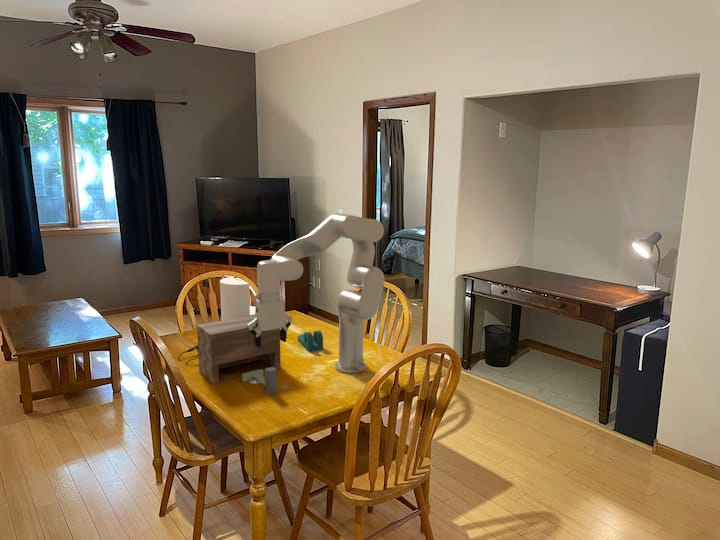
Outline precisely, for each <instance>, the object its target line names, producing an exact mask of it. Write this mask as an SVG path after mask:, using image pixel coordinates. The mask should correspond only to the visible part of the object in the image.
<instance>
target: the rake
mask: <svg viewBox="0 0 720 540" xmlns="http://www.w3.org/2000/svg"><path fill="white" fill-rule="evenodd" d="M277 374H278V373H277V368H276V369H275V368H274V367H272V366H271V367H266V368H264V369H262V368H261V369H256V370H252V371H249V372H244V373H241V379H242V382H248V381H249V379H250V378H252V377H254V378H256V379H257V380H258V381H260V382H261V384H263V385H264V387H265V388H264V389H265V393H266V394H267V395H269V396H271V395H275V394H277V393H278V383H277V382H278V380H277V377H278V376H277Z"/></svg>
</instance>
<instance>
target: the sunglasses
mask: <svg viewBox="0 0 720 540" xmlns="http://www.w3.org/2000/svg"><path fill="white" fill-rule="evenodd" d="M195 350H196V352H197V353H198V344H197V345H195V346H193V347H191V348H189V349H187V350H185V351H183V352H181V353H180V354H179V355H178V358H177V360H179V361H180V358H181V356H182V355H183V354H185V353H190V352H193V351H195ZM196 359H199V356H197V357H195V358H192V359H189V360H187V361H186V363H185V364H187V365H188V363H189V362H190V361H193V360H196Z"/></svg>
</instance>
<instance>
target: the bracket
mask: <svg viewBox="0 0 720 540" xmlns="http://www.w3.org/2000/svg"><path fill="white" fill-rule="evenodd" d="M297 341H299V342H298V343H299V344H300V343H301V344H300V345H301V346H302V347H303V348H304V349H305V350H306V351H307V352H308V353H310V352H317V351H318V350H319V351H324V335H323V333H322V331H321V330H314V331H313V334H312V332H311V331H306V332H305V331H304V333H301V334H298V335H297Z"/></svg>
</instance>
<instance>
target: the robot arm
mask: <svg viewBox="0 0 720 540" xmlns="http://www.w3.org/2000/svg"><path fill="white" fill-rule="evenodd" d="M384 231H385V228H384V225H383V223H382V222H381V221H379V220H378V219H373V218H366V217H361V216H356V215H351V214H346V213H339V212H338V213H333V214H330V215H329V216H328V217H327V218H326V219H324V220H323V221H322V222H321V223H320V224H319V225H318V226H317V227H315V228H314V229H312V231H310V233H308V234H307V235H305V236H302V237H300V238H298V239H296V240H293V241H291V242H289V243H287V244H286V245H284V246H283V247H281V248H280V249H279V250H278V251H277V252H276V253H274V254H273V255H272V257H271V258H270V259H267V260H261V261H259V262H258V263H257V265H256V267H257V268H256V272H257V273H256V274H257V294H256V295H254V299H255V300H257V301H256V303H255V307H256V309H255V319H254V320H252V321H251V322H250V323H248V324H247V325H246V327H247V328H248V330H249V332H250V333H252V334H253V335H254V344H255V345H256V346H257V347H258V348H261V337H260V336H259V335H260V334H261V332H262V331H269V330H274V329H278V328H280V342H283V343H286V342H287V338H288V337H287V331H288V329H289V328H290V327H291V325H292V321H293V318H294V317H293V316H292V315H289V314H286V307H285V303H284V299H283V298H281V281H296V280H298V279H300V278H301V277H302V275H303V273H304V266H303V264H302V262H300V261H299V260H301V259H303V258H307V257H312V256H317V255H321V254H323V253H325V252H326V251H327V250H328V249H329V248H330V247H331V246H333V245H334V244H335V243H336V242H337V241H338V240H339V239H341V238H344V239H348V240H349V239H350V240H351V242H352V248H353V249H352V256H351V258H350V259H351V260H350V263H349V267H348V270H347V276H346V281H347V283H348V285H350V286H351V287H355V288H356V289H360V290H361V292H360V291H357V290H354V289H345V290H343V291H341V292H340V293H339V294H338V296H337V300H336V308H337V314H338V325H339V326H338V328H339V329H338V361H336V362H335V364H334V368H335V370H336V371H339V372H340V373H346V374H356V373H361V372H363V371H365V370H366V369H368V365H367V363H366V362H365V358H364V322H363V320H364V321H368V320H372V319H373V318H374V316H375V315H376V314H377V312H378V309H379V306H380V302H381V299H382V298H381V297H382V295H383V290H384V287H385V274H384V272H383V271H382V270H381V268H379V267H377V266H373V264H374V259H375V254H376V249H375V244H374V243H376V242H379V241H380V240H381V239H382V238H383V236H384V233H385V232H384ZM254 325H255V327H256V328H255V330H253V328H252V327H253V326H254Z"/></svg>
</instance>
